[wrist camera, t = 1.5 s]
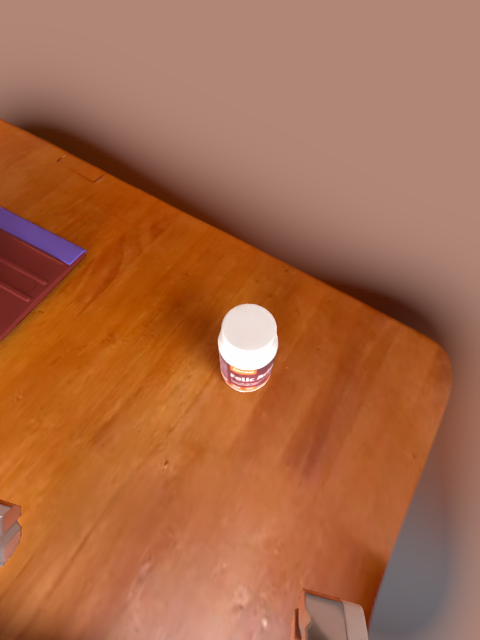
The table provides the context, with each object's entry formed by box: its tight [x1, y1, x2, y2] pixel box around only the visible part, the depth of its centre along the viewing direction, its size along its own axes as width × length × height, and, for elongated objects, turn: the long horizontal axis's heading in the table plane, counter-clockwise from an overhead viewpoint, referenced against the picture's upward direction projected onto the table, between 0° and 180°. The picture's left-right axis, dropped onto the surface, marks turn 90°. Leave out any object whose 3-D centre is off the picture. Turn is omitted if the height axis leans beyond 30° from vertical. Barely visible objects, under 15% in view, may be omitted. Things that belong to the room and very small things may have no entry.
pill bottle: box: [218, 304, 278, 392], centre depth 28 cm, size 5×5×8 cm
